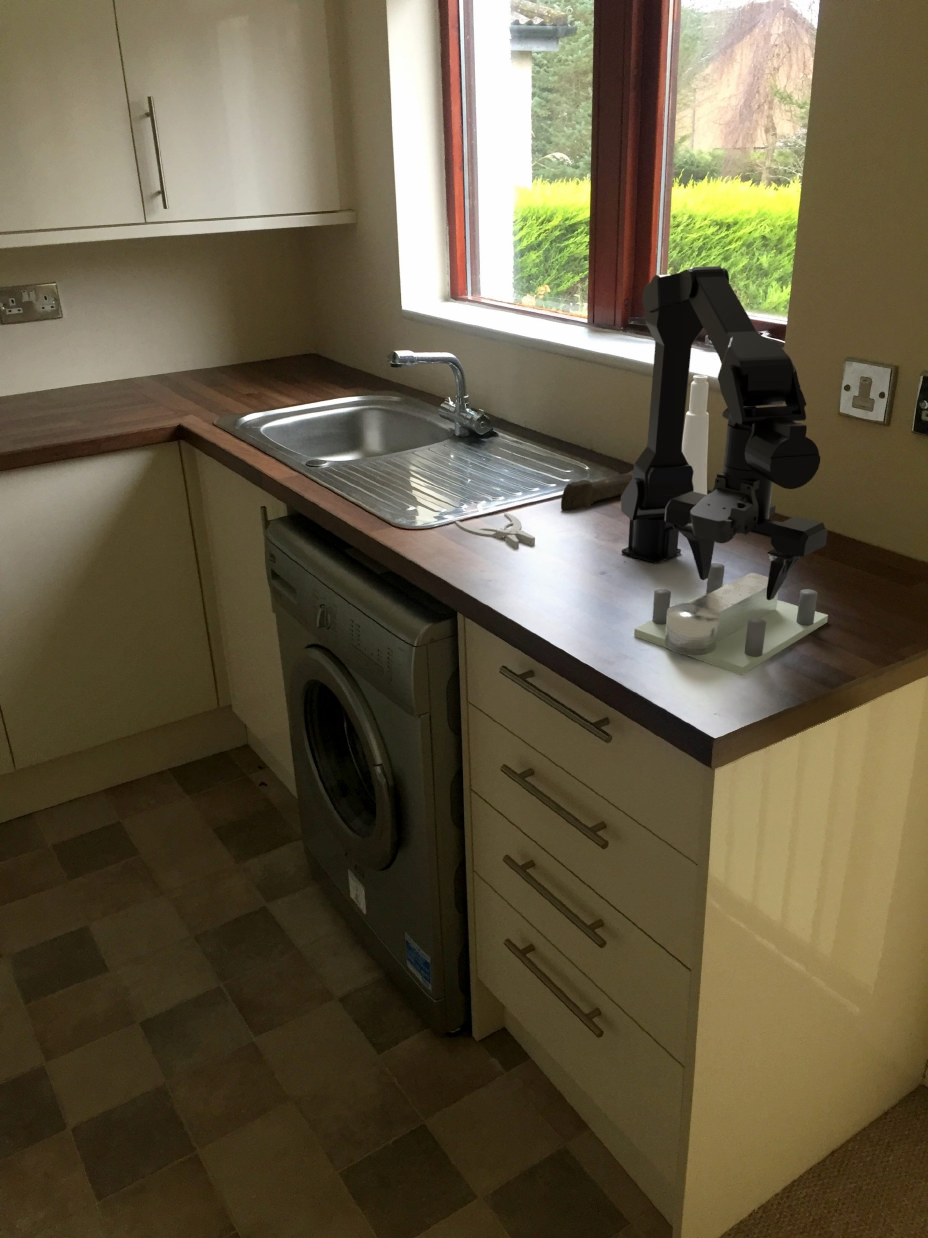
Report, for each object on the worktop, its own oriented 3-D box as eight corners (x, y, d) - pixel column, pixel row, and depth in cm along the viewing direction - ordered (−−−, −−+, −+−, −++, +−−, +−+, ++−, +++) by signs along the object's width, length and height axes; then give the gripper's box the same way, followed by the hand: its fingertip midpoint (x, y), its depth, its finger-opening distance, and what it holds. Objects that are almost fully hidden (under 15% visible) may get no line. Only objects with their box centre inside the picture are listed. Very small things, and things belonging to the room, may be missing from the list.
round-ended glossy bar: (654, 644, 120) (656, 613, 118) (741, 599, 132) (744, 570, 130) (697, 660, 116) (700, 628, 115) (783, 611, 128) (787, 582, 127)
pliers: (508, 507, 168) (553, 534, 156) (507, 516, 169) (553, 544, 156) (454, 516, 164) (496, 544, 152) (454, 525, 165) (496, 554, 152)
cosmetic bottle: (675, 514, 167) (685, 379, 158) (668, 503, 173) (677, 372, 164) (711, 514, 167) (724, 379, 158) (703, 502, 173) (715, 372, 164)
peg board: (634, 636, 125) (636, 598, 123) (723, 590, 137) (726, 556, 135) (741, 675, 115) (746, 635, 113) (827, 622, 128) (832, 585, 126)
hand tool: (631, 488, 182) (633, 462, 180) (647, 493, 179) (649, 467, 177) (550, 508, 172) (551, 482, 170) (566, 514, 169) (566, 487, 167)
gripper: (641, 463, 118) (634, 587, 125) (787, 496, 106) (770, 631, 113) (695, 445, 125) (685, 563, 132) (837, 474, 113) (819, 602, 120)
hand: (736, 589), depth 124 cm, fingers open, 9 cm apart
